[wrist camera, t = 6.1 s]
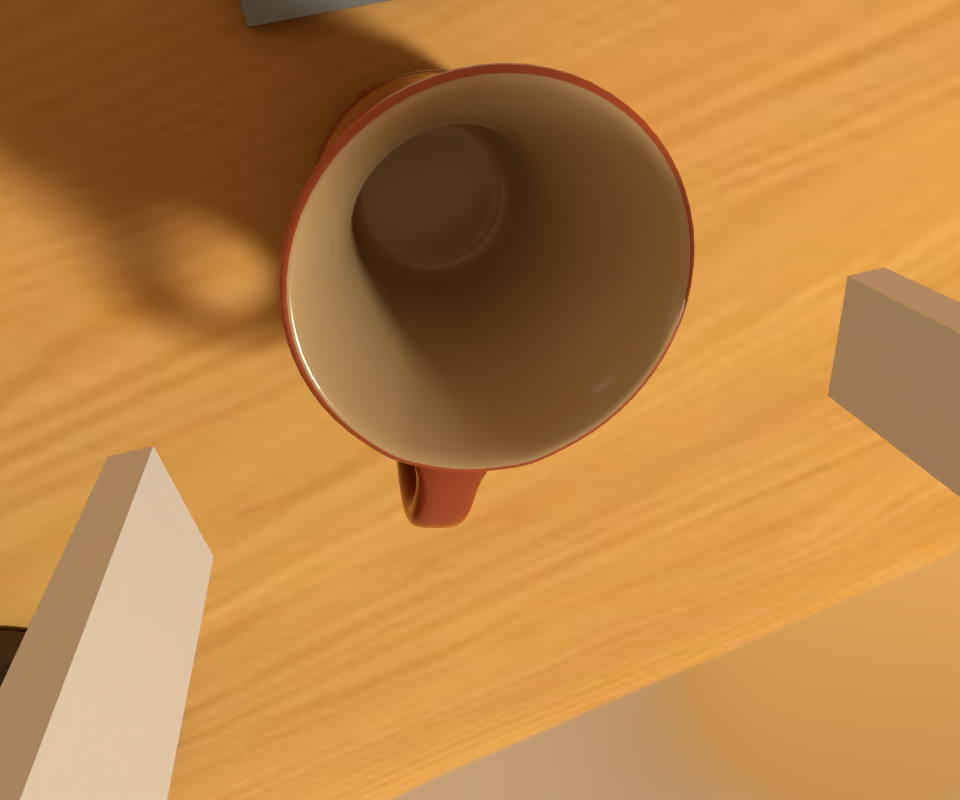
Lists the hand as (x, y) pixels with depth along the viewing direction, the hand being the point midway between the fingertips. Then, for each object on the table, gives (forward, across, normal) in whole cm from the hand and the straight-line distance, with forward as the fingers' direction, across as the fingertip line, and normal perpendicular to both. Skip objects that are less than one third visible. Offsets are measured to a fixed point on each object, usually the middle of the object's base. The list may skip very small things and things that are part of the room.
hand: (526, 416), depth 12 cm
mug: (+13, 0, 0) cm, 13 cm away
